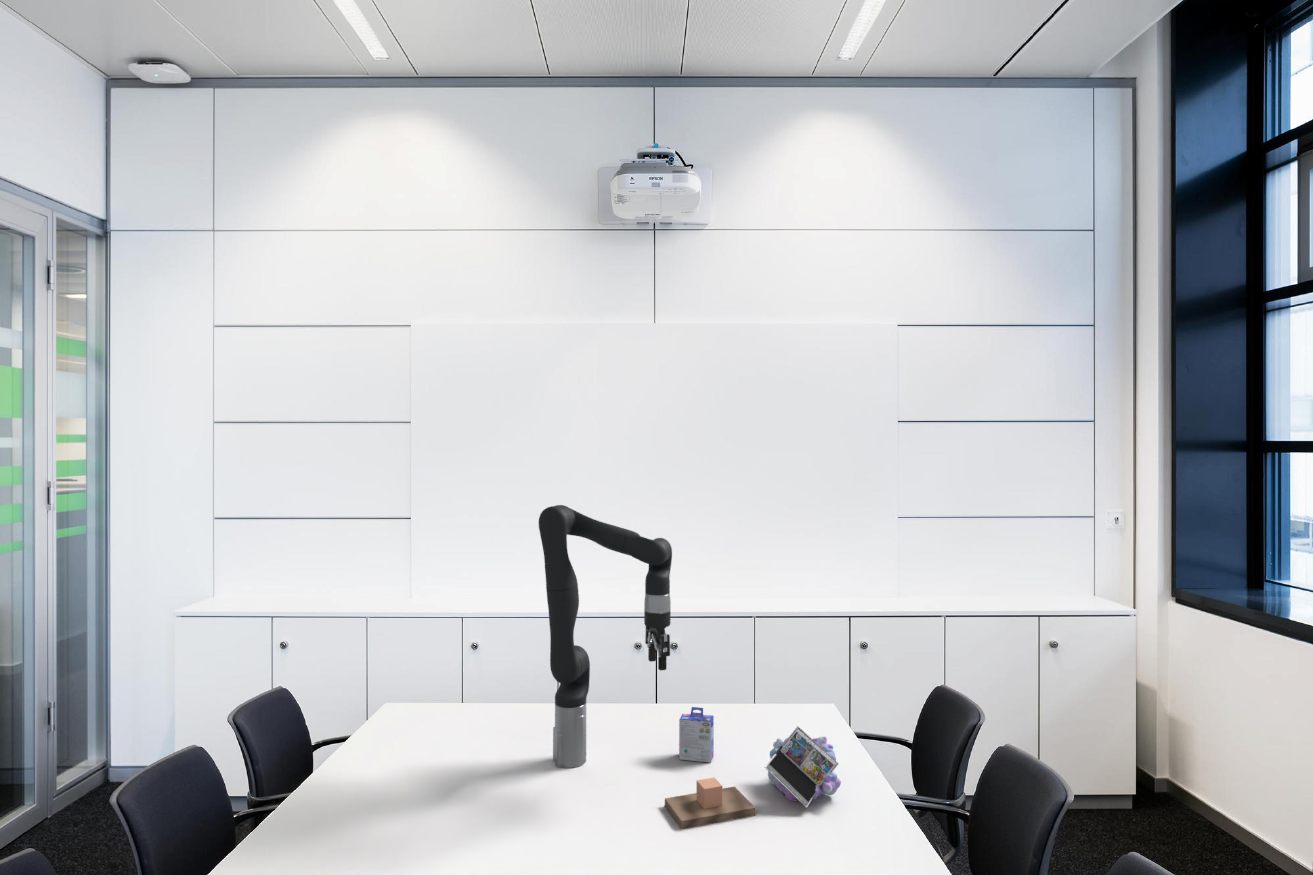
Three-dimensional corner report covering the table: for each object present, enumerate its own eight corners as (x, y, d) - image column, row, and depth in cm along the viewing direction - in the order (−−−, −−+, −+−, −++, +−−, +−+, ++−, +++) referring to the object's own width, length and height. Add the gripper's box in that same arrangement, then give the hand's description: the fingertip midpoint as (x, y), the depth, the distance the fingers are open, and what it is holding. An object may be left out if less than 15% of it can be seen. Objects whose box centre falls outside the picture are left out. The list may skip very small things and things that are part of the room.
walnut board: (681, 829, 181) (681, 821, 181) (664, 806, 193) (664, 798, 193) (755, 815, 188) (755, 807, 188) (734, 793, 199) (734, 786, 199)
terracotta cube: (704, 808, 187) (704, 788, 187) (696, 799, 192) (696, 780, 192) (722, 805, 189) (722, 785, 189) (714, 796, 194) (714, 777, 194)
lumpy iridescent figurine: (823, 751, 215) (794, 702, 213) (869, 781, 195) (837, 726, 192) (771, 798, 209) (740, 748, 206) (812, 833, 189) (778, 778, 186)
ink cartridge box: (714, 755, 223) (714, 707, 223) (711, 763, 218) (712, 713, 218) (681, 752, 225) (682, 704, 225) (678, 760, 220) (678, 711, 220)
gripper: (637, 604, 219) (637, 659, 219) (653, 615, 205) (653, 674, 205) (661, 602, 221) (661, 657, 221) (678, 613, 208) (678, 671, 208)
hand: (657, 665), depth 213 cm, fingers open, 8 cm apart
